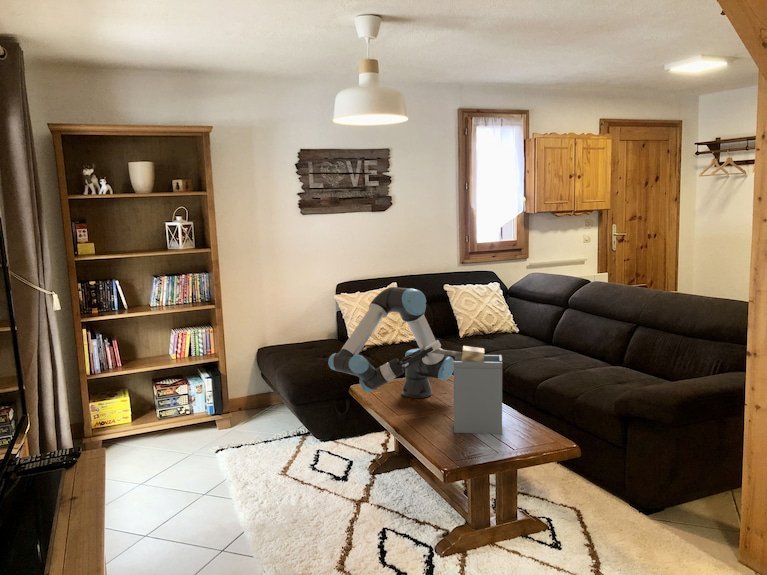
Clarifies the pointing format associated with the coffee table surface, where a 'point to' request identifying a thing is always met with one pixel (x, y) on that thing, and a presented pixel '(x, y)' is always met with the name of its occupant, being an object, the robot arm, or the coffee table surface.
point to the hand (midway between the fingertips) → (439, 343)
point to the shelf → (478, 395)
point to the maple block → (463, 353)
